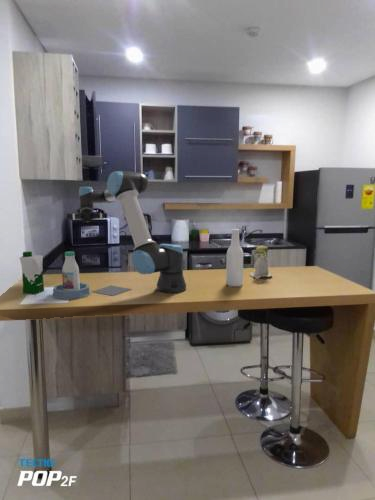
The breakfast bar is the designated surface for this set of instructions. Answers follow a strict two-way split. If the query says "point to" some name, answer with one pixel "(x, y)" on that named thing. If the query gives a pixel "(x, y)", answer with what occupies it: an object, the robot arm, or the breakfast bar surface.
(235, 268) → the alcohol
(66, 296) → the bowl
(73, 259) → the milk bottle
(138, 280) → the breakfast bar surface
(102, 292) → the mat
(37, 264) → the milk carton
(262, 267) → the figurine
